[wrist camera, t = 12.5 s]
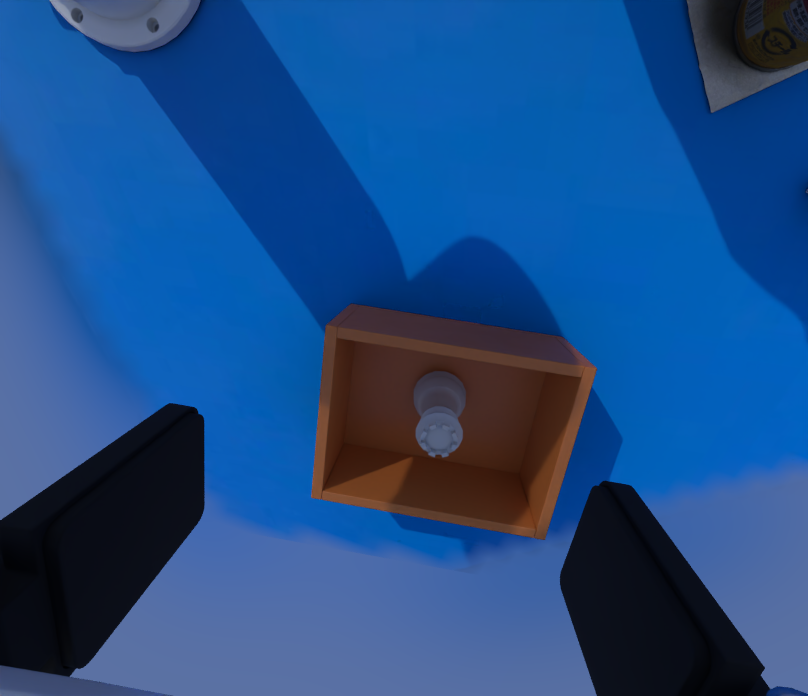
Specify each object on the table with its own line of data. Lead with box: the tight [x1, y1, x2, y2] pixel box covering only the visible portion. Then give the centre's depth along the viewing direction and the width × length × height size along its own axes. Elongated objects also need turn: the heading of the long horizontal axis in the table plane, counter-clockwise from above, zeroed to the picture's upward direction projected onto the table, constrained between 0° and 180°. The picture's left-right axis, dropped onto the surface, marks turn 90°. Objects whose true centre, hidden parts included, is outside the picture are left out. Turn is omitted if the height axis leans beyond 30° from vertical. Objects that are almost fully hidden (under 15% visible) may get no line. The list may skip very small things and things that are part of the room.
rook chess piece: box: [414, 371, 466, 458], centre depth 31 cm, size 4×4×8 cm
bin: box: [311, 304, 597, 540], centre depth 31 cm, size 18×14×8 cm
